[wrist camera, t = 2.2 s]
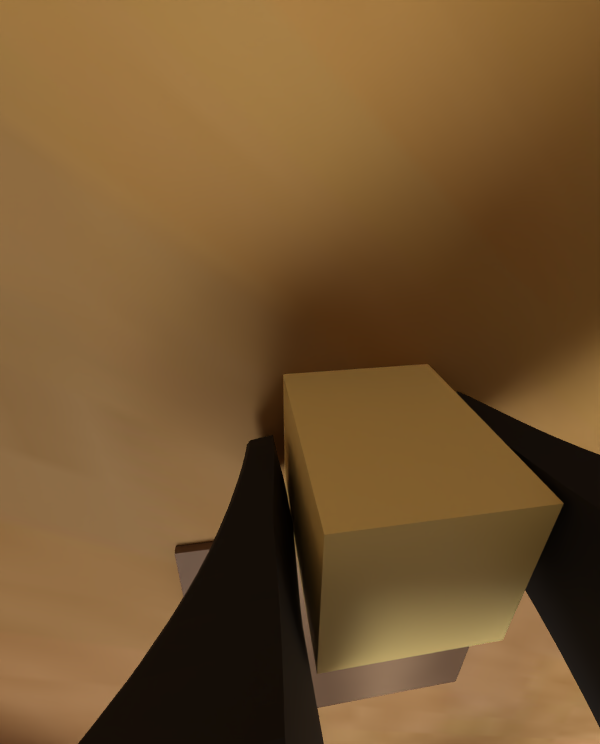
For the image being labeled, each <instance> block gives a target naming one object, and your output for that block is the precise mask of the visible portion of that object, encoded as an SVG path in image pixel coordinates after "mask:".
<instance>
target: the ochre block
mask: <svg viewBox="0 0 600 744" xmlns="http://www.w3.org/2000/svg"><path fill="white" fill-rule="evenodd" d="M283 403H284V471H285V486H286V491H287V496H288V501H289V506H290V511H291V516H292V522H293V530H294V540H295V550H296V556H297V562H298V568H299V573H300V579H301V585H302V591H303V596H304V602H305V608H306V614H307V619H308V625H309V631H310V637H311V642H312V648H313V654H314V660H315V665H316V671H317V674H319V673H325V672H330V671H336V670H341V669H347V668H352V667H358V666H363V665H369V664H374V663H380V662H385V661H391V660H396V659H402V658H407V657H413V656H418V655H424V654H429V653H435V652H440V651H446V650H451V649H457V648H462V647H468V646H473V645H479V644H484V643H490V642H495V641H501V640H503V638H504V636H505V634H506V631H507V629H508V627H509V625H510V622H511V620H512V618H513V616H514V614H515V611H516V609H517V607H518V605H519V602H520V600H521V598H522V596H523V593H524V591H525V589H526V587H527V584H528V582H529V580H530V578H531V576H532V573H533V571H534V569H535V567H536V564H537V562H538V560H539V558H540V555H541V553H542V551H543V549H544V546H545V544H546V542H547V540H548V538H549V535H550V533H551V531H552V529H553V526H554V524H555V522H556V520H557V517H558V515H559V513H560V511H561V508H562V506H563V504H564V503H563V502H562V501H561V500H560V499H559V498H558V497H557V496H556V495H555V494H554V493H553V492H552V491H551V490H550V489H549V488H548V487H547V486H546V485H545V484H544V483H543V482H542V481H541V480H540V478H539V477H538V476H537V475H536V474H535V473H534V472H533V471H532V470H531V469H530V468H529V467H528V466H527V465H526V464H525V463H524V462H523V461H522V460H521V459H520V458H519V457H518V456H517V455H516V454H515V453H514V452H513V451H512V450H511V449H510V448H509V447H508V446H507V445H506V444H505V443H504V441H503V440H502V439H501V438H500V437H499V436H498V435H497V434H496V433H495V432H494V431H493V430H492V429H491V428H490V427H489V426H488V425H487V424H486V423H485V422H484V421H483V420H482V419H481V418H480V417H479V416H478V415H477V414H476V413H475V412H474V411H473V410H472V409H471V408H470V407H469V406H468V405H467V403H466V402H465V401H464V400H463V399H462V398H461V397H460V396H459V395H458V394H457V393H456V392H455V391H454V390H453V389H452V388H451V387H450V386H449V385H448V384H447V383H446V382H445V381H444V380H443V379H442V378H441V377H440V376H439V375H438V374H437V373H436V372H435V371H434V370H433V369H432V368H431V366H430V365H429V364H420V365H406V366H392V367H378V368H363V369H349V370H335V371H321V372H307V373H292V374H283Z"/></svg>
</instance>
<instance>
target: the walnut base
mask: <svg viewBox="0 0 600 744" xmlns="http://www.w3.org/2000/svg"><path fill="white" fill-rule="evenodd" d="M212 543H213V542H207V543H199V544H191V545H183V546H176V548H175V558H176V562H177V567H178V572H179V577H180V582H181V587H182V591H183V596H184V595H185V594H186V592H187V590H188V588H189V587H190V585H191V583H192V582H193V580H194V578H195V576H196V575H197V573H198V571H199V569H200V567H201V565H202V563H203V561H204V560H205V558H206V556H207V554H208V552H209V550H210V548H211V546H212ZM295 551H296V550H295ZM296 562H297V556H296ZM297 573H298V585H299V596H300V607H301V615H302V623H303V630H304V636H305V642H306V647H307V653H308V659H309V664H310V670H311V676H312V681H313V687H314V693H315V698H316V704H317V708H319V707H325V706H330V705H335V704H340V703H345V702H351V701H356V700H361V699H366V698H371V697H377V696H382V695H387V694H392V693H397V692H403V691H408V690H413V689H418V688H423V687H429V686H434V685H439V684H444V683H449V682H455V681H456V679H457V676H458V674H459V671H460V669H461V666H462V664H463V661H464V658H465V656H466V653H467V651H468V648H469V646H468V647H462V648H457V649H451V650H446V651H440V652H435V653H429V654H424V655H418V656H413V657H407V658H402V659H396V660H391V661H385V662H380V663H374V664H369V665H363V666H358V667H352V668H347V669H341V670H336V671H330V672H325V673H319V674H317V671H316V665H315V660H314V654H313V648H312V642H311V637H310V631H309V625H308V619H307V614H306V608H305V602H304V596H303V591H302V585H301V579H300V573H299V568H298V562H297Z"/></svg>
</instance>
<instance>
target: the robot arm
mask: <svg viewBox="0 0 600 744" xmlns="http://www.w3.org/2000/svg"><path fill="white" fill-rule="evenodd" d="M456 393H457V394H458V395H459V396H460V397H461V398H462V399H463V400H464V401H465V402H466V403H467V405H468V406H469V407H470V408H471V409H472V410H473V411H474V412H475V413H476V414H477V415H478V416H479V417H480V418H481V419H482V420H483V421H484V422H485V423H486V424H487V425H488V426H489V427H490V428H491V429H492V430H493V431H494V432H495V433H496V434H497V435H498V436H499V437H500V438H501V439H502V440H503V441H504V443H505V444H506V445H507V446H508V447H509V448H510V449H511V450H512V451H513V452H514V453H515V454H516V455H517V456H518V457H519V458H520V459H521V460H522V461H523V462H524V463H525V464H526V465H527V466H528V467H529V468H530V469H531V470H532V471H533V472H534V473H535V474H536V475H537V476H538V477H539V478H540V480H541V481H542V482H543V483H544V484H545V485H546V486H547V487H548V488H549V489H550V490H551V491H552V492H553V493H554V494H555V495H556V496H557V497H558V498H559V499H560V500H561V501H562V502H563V503H564V504H563V506H562V508H561V511H560V513H559V515H558V517H557V520H556V522H555V524H554V526H553V529H552V531H551V533H550V535H549V538H548V540H547V542H546V544H545V546H544V549H543V551H542V553H541V555H540V558H539V560H538V562H537V564H536V567H535V569H534V571H533V573H532V576H531V578H530V580H529V582H528V584H527V587H526V589H525V590H526V592H527V594H528V596H529V597H530V599H531V601H532V602H533V604H534V606H535V607H536V609H537V611H538V613H539V615H540V616H541V618H542V620H543V622H544V623H545V625H546V627H547V629H548V631H549V632H550V634H551V636H552V638H553V640H554V641H555V643H556V645H557V647H558V649H559V650H560V652H561V654H562V656H563V658H564V660H565V662H566V663H567V665H568V667H569V669H570V671H571V673H572V675H573V677H574V679H575V681H576V682H577V684H578V686H579V688H580V690H581V692H582V694H583V696H584V698H585V699H586V701H587V703H588V705H589V707H590V709H591V711H592V713H593V715H594V717H595V719H596V721H597V723H598V725H599V727H600V455H599V454H596V453H593V452H591V451H588V450H585V449H583V448H580V447H578V446H575V445H573V444H571V443H568V442H566V441H563V440H561V439H559V438H556V437H554V436H551V435H549V434H547V433H545V432H542V431H540V430H538V429H536V428H534V427H531V426H529V425H527V424H525V423H523V422H521V421H519V420H516V419H514V418H512V417H510V416H508V415H506V414H504V413H502V412H500V411H498V410H496V409H494V408H492V407H490V406H488V405H486V404H484V403H482V402H479V401H477V400H475V399H473V398H471V397H469V396H467V395H465V394H462V393H460V392H456ZM78 744H324V743H323V737H322V732H321V726H320V721H319V715H318V709H317V704H316V698H315V693H314V687H313V681H312V676H311V670H310V664H309V659H308V653H307V647H306V642H305V636H304V630H303V623H302V615H301V607H300V596H299V585H298V573H297V562H296V551H295V540H294V530H293V522H292V516H291V511H290V506H289V501H288V496H287V491H286V486H285V483H284V479H283V475H282V471H281V467H280V463H279V459H278V455H277V451H276V447H275V443H274V439H273V435H271V436H267V437H262V438H258V439H254V440H250V441H249V443H248V444H247V448H246V453H245V457H244V461H243V465H242V469H241V472H240V475H239V479H238V482H237V484H236V487H235V490H234V493H233V496H232V499H231V501H230V504H229V507H228V509H227V512H226V514H225V516H224V519H223V521H222V523H221V526H220V528H219V530H218V533H217V535H216V537H215V539H214V541H213V543H212V546H211V548H210V550H209V552H208V554H207V556H206V558H205V560H204V561H203V563H202V565H201V567H200V569H199V571H198V573H197V575H196V576H195V578H194V580H193V582H192V583H191V585H190V587H189V588H188V590H187V592H186V594H185V595H184V597H183V599H182V601H181V602H180V604H179V605H178V607H177V609H176V610H175V612H174V614H173V615H172V617H171V618H170V620H169V621H168V623H167V624H166V626H165V627H164V629H163V630H162V632H161V633H160V635H159V636H158V638H157V639H156V640H155V642H154V643H153V645H152V646H151V648H150V649H149V651H148V652H147V654H146V655H145V657H144V658H143V660H142V661H141V662H140V664H139V665H138V667H137V668H136V669H135V671H134V672H133V674H132V675H131V676H130V678H129V679H128V680H127V682H126V683H125V684H124V686H123V687H122V688H121V689H120V691H119V692H118V693H117V695H116V696H115V697H114V699H113V700H112V701H111V702H110V704H109V705H108V706H107V708H106V709H105V710H104V711H103V713H102V714H101V715H100V717H99V718H98V719H97V720H96V722H95V723H94V724H93V726H92V727H91V728H90V729H89V731H88V732H87V733H86V734H85V736H84V737H83V738H82V739H81V741H80V742H79V743H78Z"/></svg>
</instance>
